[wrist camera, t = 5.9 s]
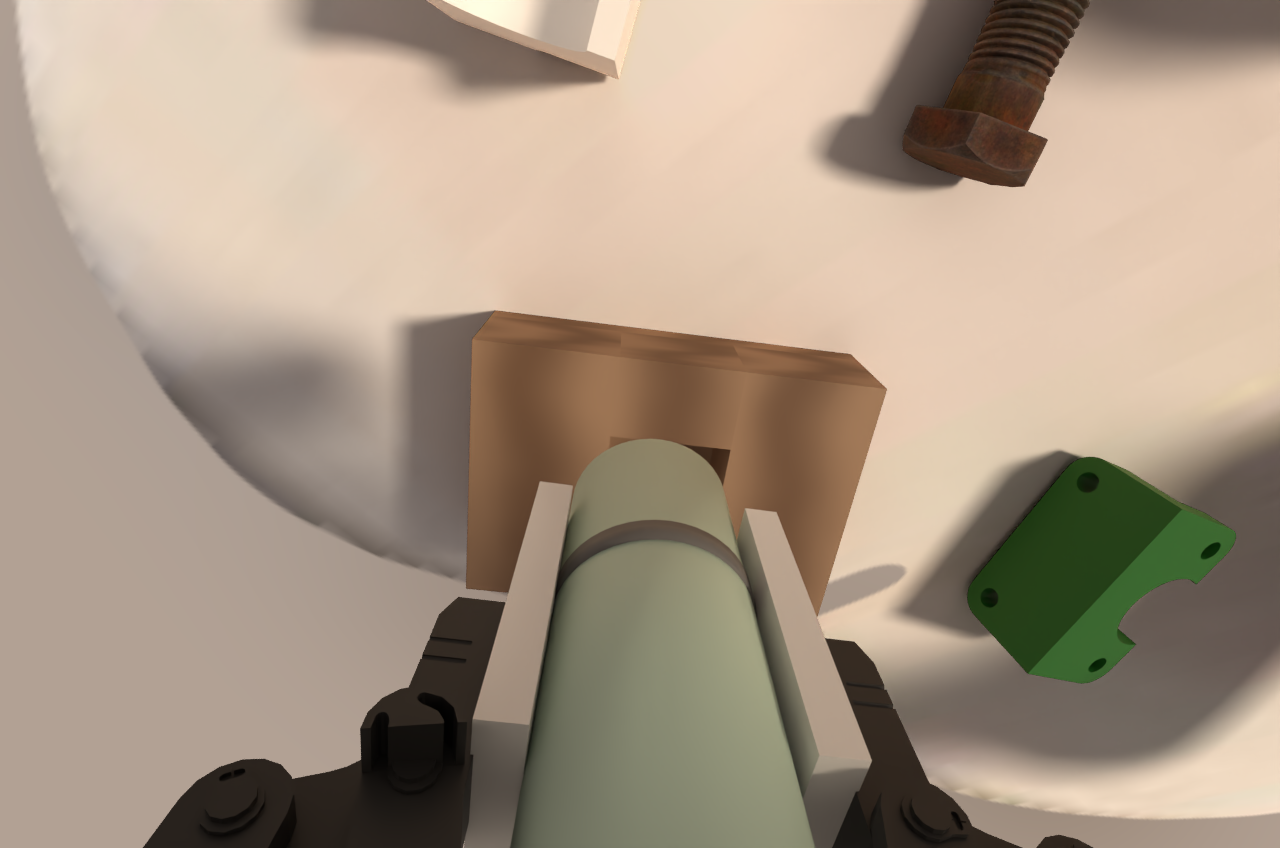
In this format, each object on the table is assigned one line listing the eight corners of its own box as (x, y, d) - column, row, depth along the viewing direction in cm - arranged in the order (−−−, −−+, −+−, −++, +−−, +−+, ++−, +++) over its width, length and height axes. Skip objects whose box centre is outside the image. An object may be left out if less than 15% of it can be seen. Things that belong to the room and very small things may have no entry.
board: (850, 354, 32) (887, 389, 28) (793, 563, 38) (815, 621, 33) (495, 310, 31) (472, 339, 27) (486, 532, 36) (466, 588, 32)
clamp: (1002, 554, 43) (1065, 694, 37) (941, 536, 40) (999, 683, 35) (1190, 460, 35) (1307, 619, 29) (1128, 430, 32) (1243, 598, 27)
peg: (742, 448, 16) (982, 1129, 5) (710, 581, 17) (837, 1316, 6) (579, 426, 16) (446, 1095, 5) (562, 563, 17) (433, 1298, 6)
